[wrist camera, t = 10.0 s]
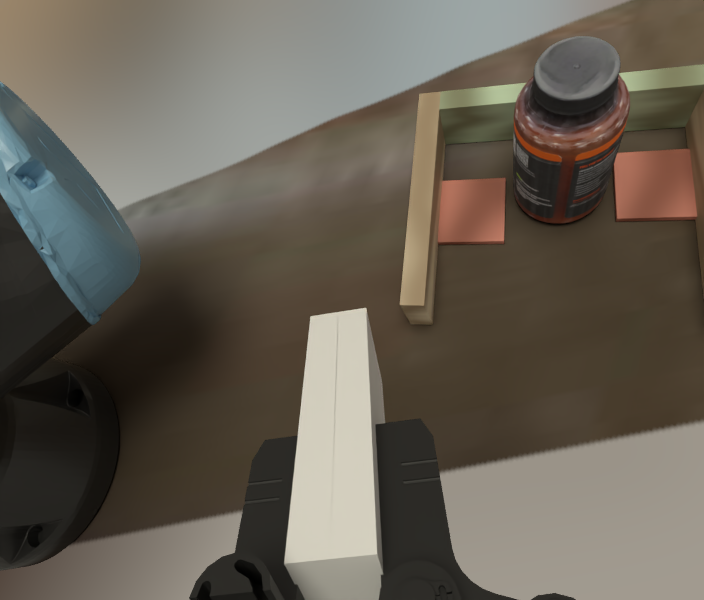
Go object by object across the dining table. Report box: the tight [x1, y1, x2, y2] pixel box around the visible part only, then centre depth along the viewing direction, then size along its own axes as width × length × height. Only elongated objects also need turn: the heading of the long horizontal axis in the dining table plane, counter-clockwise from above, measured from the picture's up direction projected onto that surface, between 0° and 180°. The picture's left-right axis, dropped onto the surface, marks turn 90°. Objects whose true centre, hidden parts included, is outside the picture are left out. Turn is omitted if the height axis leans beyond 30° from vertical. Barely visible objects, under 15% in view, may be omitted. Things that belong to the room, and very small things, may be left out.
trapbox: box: [400, 64, 704, 325], centre depth 32 cm, size 19×16×4 cm
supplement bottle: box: [513, 36, 630, 223], centre depth 30 cm, size 6×6×11 cm
